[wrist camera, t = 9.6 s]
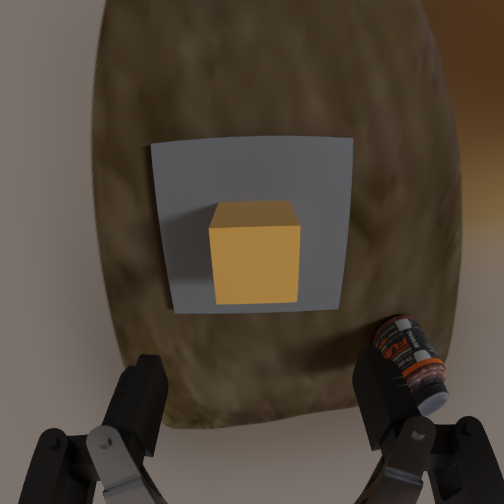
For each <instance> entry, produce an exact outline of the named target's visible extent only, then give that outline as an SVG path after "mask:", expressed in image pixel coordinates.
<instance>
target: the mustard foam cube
mask: <svg viewBox="0 0 504 504" xmlns="http://www.w3.org/2000/svg"><path fill="white" fill-rule="evenodd" d="M209 237H210V248H211V258H212V268H213V277H214V287H215V296H216V304H261V303H287V302H297V296H298V277H299V254H300V223H299V221H298V219H297V217H296V215H295V213H294V211H293V208H292V206H291V204H290V202H289V200H283V201H245V202H220V203H218V205H217V208H216V211H215V213H214V216H213V218H212V221H211V224H210V226H209Z"/></svg>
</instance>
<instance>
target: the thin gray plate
mask: <svg viewBox="0 0 504 504" xmlns="http://www.w3.org/2000/svg"><path fill="white" fill-rule="evenodd" d="M151 154H152V165H153V175H154V184H155V193H156V202H157V210H158V217H159V224H160V231H161V238H162V245H163V251H164V257H165V263H166V269H167V275H168V280H169V286H170V291H171V296H172V301H173V306H174V311H175V313H185V314H219V313H267V312H292V311H312V310H328V309H338V308H339V302H340V295H341V288H342V280H343V273H344V264H345V256H346V246H347V237H348V226H349V214H350V200H351V184H352V163H353V138H348V137H330V136H299V135H264V136H232V137H214V138H200V139H188V140H178V141H168V142H159V143H153V144H151ZM283 200H289V202H290V204H291V206H292V208H293V211H294V213H295V215H296V217H297V219H298V221H299V223H300V254H299V277H298V296H297V302H287V303H261V304H216V296H215V287H214V277H213V268H212V258H211V248H210V237H209V226H210V224H211V221H212V218H213V216H214V213H215V211H216V208H217V205H218V203H220V202H245V201H283Z"/></svg>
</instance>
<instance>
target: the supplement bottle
mask: <svg viewBox="0 0 504 504" xmlns="http://www.w3.org/2000/svg"><path fill="white" fill-rule="evenodd" d="M373 346H374V348H379V349H380V350H381V352H382V355H383V357H384V359H389V358H391V359H392V360H393V361H394V362H395V363H396V364H397V365H398V366H399V367H400V370H401V372H402V374H403V377H404V378H405V380H406V382H407V386H408V387H409V389H410V391H411V393H412V395H413V397H414V400H415V402H416V404H417V406H418V409H419V411H420V413H421V415H422V416H424V417H426V416H428V415H430V414H432V413H434V412H436V411H437V410H439V409H440V408H441V407H442V406H443V405H444V404H445V403H446V402H447V400H448V398H449V393H448V391H447V389H446V387H445V385H444V382H445V380H446V375H447V373H446V368H445V366H444V364H443V362H442V361H441V359H440V357H439V355H438V354H437V352H436V351H435V349H434V347H433V346H432V344H431V343H430V341H429V340H428V338H427V336H426V335H425V333H424V332H423V330H422V329H421V327H420V326H419V324H418V323H417V321H416V320H415V319H414V318H413V317H411V316H408V315H400V316H396V317H393V318H391V319H389V320H388V321H386V322H385V323H384V324H382V325H381V326H380V327H379V329H378V330H377V331H376V333H375V336H374V339H373Z"/></svg>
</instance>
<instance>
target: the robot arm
mask: <svg viewBox="0 0 504 504" xmlns="http://www.w3.org/2000/svg"><path fill="white" fill-rule="evenodd" d="M352 383H353V388H354V392H355V395H356V398H357V401H358V405H359V408H360V411H361V414H362V418H363V422H364V425H365V428H366V432H367V435H368V439H369V442H370V446H371V450H372V451H374V450H379V449H381V452H382V456H381V458H380V460H379V462H378V464H377V466H376V468H375V470H374V472H373V474H372V475H371V477H370V479H369V481H368V483H367V485H366V486H365V488H364V490H363V492H362V493H361V495H360V496H359V497H358V499H357V500H356V502H355V503H354V504H416V502H417V500H418V497H419V495H420V493H421V490H422V488H423V481H422V480H421V478H422V475H423V472H424V471H427V472H428V475H429V479H430V483H431V487H432V491H433V496H434V500H435V504H504V480H503V477H502V474H501V471H500V468H499V465H498V463H497V460H496V457H495V454H494V452H493V450H492V447H491V444H490V442H489V440H488V437H487V435H486V432H485V430H484V428H483V425H482V424H481V422H480V421H479V420H478V419H476V418H475V417H472V416H466V417H462V418H461V419H459V420H458V422H457V423H456V424H452V425H451V424H450V425H438V424H434V423H433V422H432V421H431V420H430V419H428V418H427V417H424V416H422V415H421V413H420V411H419V409H418V406H417V404H416V402H415V400H414V397H413V395H412V393H411V391H410V389H409V387H408V386H407V382H406V380H405V378H404V377H403V374H402V372H401V370H400V367H399V366H398V365H397V364H396V363H395V362H394V361H393V360H392V359H391V358H389V359H384V357H383V355H382V352H381V350H380V349H379V348H372V349H364V350H360V352H359V355H358V358H357V362H356V365H355V369H354V372H353V377H352ZM167 394H168V379H167V376H166V373H165V370H164V367H163V364H162V361H161V358H160V356H159V355H145V354H141V355H140V356H139V358H138V361H137V364H136V366H129V367H128V368H127V369H126V370H125V371H124V372H123V373H122V374H121V376H120V378H119V381H118V384H117V387H116V389H115V391H114V394H113V396H112V399H111V401H110V404H109V407H108V409H107V412H106V415H105V417H104V420H103V422H102V425H101V426H98V427H96V428H94V429H93V430H91V431H90V433H89V434H87V435H77V436H67V435H66V434H65V433H64V432H63V431H62V430H60V429H57V428H51V429H48V430H46V431H44V432H43V433H42V434H41V436H40V438H39V441H38V443H37V446H36V449H35V451H34V454H33V457H32V460H31V463H30V466H29V469H28V472H27V475H26V478H25V482H24V485H23V488H22V492H21V495H20V499H19V503H18V504H92V503H93V497H94V492H95V487H96V483H97V481H101V482H102V484H103V486H104V491H103V496H104V499H105V501H106V503H107V504H168V503H167V502H166V501H165V499H164V498H163V496H162V495H161V493H160V492H159V490H158V489H157V487H156V485H155V484H154V482H153V481H152V479H151V477H150V476H149V474H148V472H147V471H146V469H145V467H144V466H143V460H144V456H148V457H153V456H154V451H155V446H156V442H157V437H158V433H159V428H160V424H161V420H162V415H163V411H164V407H165V403H166V399H167Z"/></svg>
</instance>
